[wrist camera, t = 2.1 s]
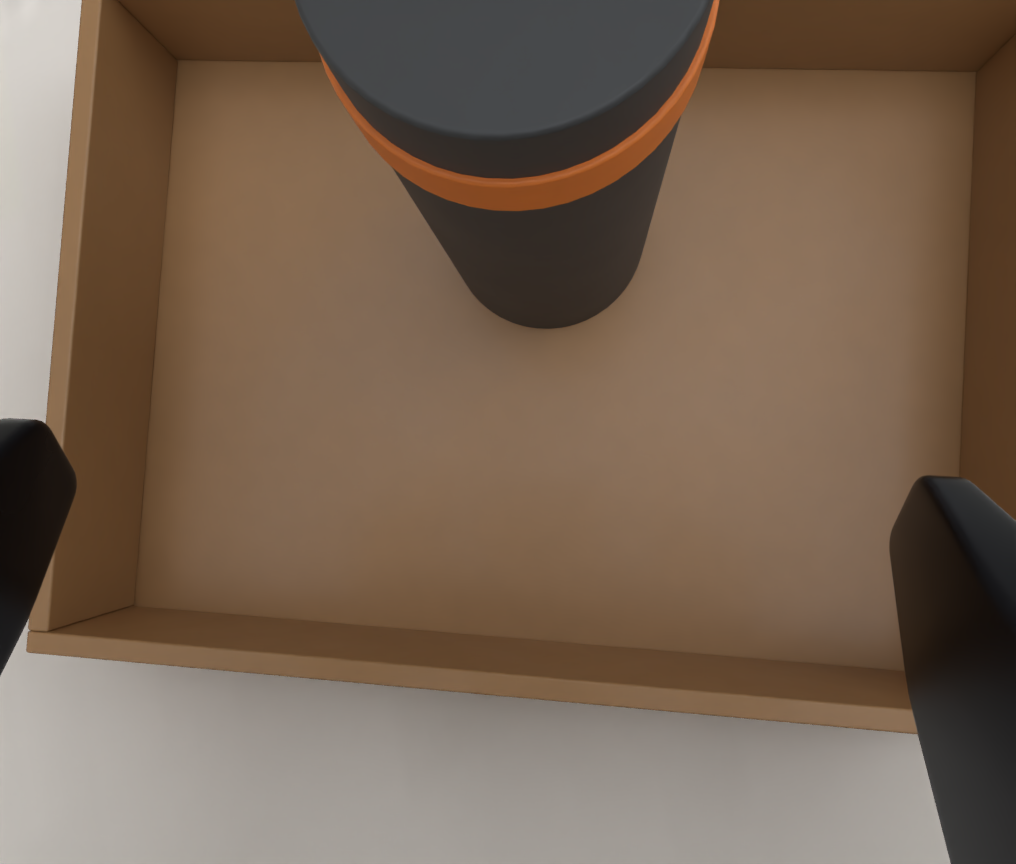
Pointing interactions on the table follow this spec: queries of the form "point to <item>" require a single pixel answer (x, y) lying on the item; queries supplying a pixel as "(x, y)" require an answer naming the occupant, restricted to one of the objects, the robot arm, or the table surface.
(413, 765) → the table surface
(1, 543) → the robot arm
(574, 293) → the dark grey cylinder
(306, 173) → the brown wooden tray
